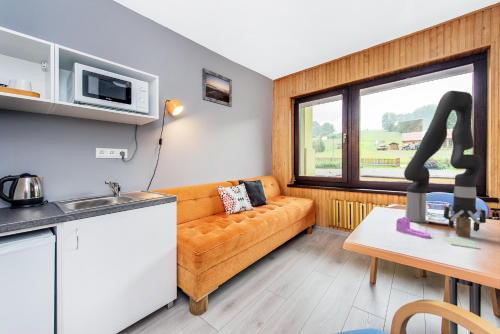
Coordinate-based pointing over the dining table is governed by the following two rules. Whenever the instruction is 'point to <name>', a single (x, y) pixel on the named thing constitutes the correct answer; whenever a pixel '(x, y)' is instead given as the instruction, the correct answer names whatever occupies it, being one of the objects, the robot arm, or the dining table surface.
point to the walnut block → (463, 226)
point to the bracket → (405, 228)
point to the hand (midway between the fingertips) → (463, 229)
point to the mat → (461, 242)
